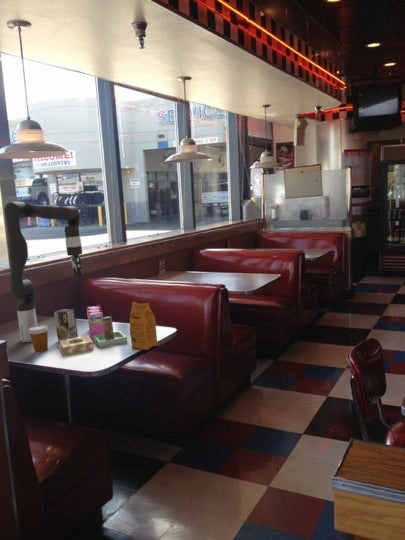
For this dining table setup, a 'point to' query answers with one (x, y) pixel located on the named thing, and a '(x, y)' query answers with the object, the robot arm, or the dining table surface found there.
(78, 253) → the robot arm
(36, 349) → the disposable coffee cup
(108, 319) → the pin
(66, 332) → the coffee box
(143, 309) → the coffee package
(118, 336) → the tray
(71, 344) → the wooden square frame
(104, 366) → the dining table surface
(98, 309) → the gum box
